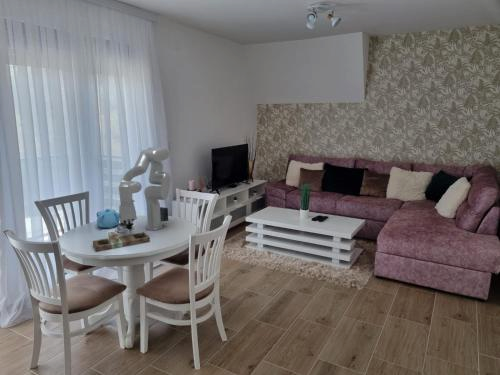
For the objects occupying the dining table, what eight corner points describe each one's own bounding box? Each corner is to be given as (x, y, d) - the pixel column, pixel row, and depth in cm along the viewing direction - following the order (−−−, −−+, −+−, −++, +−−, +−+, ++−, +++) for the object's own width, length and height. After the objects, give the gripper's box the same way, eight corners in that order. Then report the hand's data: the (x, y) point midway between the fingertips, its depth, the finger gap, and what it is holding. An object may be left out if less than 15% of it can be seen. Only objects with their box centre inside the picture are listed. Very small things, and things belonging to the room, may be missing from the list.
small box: (168, 220, 284) (168, 207, 282) (164, 222, 278) (163, 209, 276) (157, 219, 288) (156, 206, 286) (152, 221, 282) (152, 208, 280)
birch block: (116, 238, 233) (116, 231, 232) (119, 241, 228) (118, 233, 227) (108, 240, 231) (108, 232, 230) (110, 242, 226) (110, 235, 225)
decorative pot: (121, 227, 265) (120, 210, 263) (98, 230, 258) (96, 212, 256) (118, 222, 280) (117, 205, 277) (96, 224, 273) (95, 207, 270)
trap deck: (144, 236, 247) (143, 232, 246) (149, 241, 236) (149, 237, 235) (93, 245, 229) (92, 240, 229) (96, 251, 219) (96, 247, 218)
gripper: (136, 199, 239) (139, 225, 244) (113, 203, 231) (116, 229, 236) (139, 202, 233) (142, 228, 238) (116, 206, 225) (119, 233, 230)
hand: (129, 228), depth 237 cm, fingers closed
